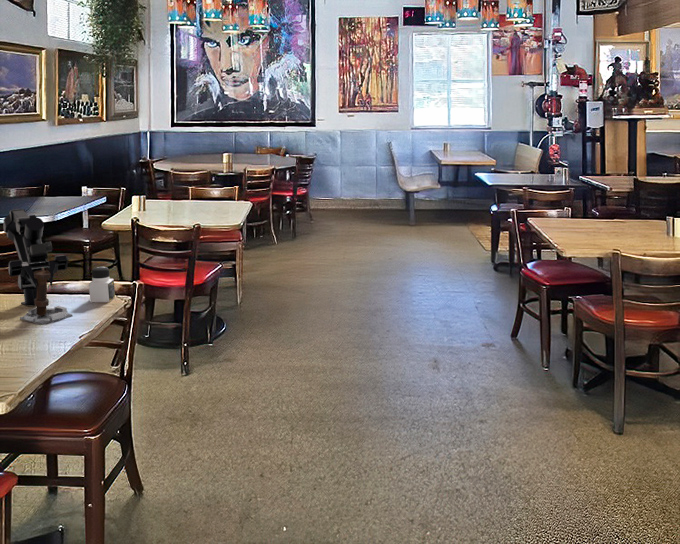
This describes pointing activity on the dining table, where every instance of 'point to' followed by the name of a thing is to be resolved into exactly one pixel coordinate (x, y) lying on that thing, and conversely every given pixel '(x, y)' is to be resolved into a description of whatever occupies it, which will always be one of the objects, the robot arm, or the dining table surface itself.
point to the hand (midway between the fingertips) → (43, 286)
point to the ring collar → (50, 316)
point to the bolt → (41, 291)
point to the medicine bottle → (101, 285)
